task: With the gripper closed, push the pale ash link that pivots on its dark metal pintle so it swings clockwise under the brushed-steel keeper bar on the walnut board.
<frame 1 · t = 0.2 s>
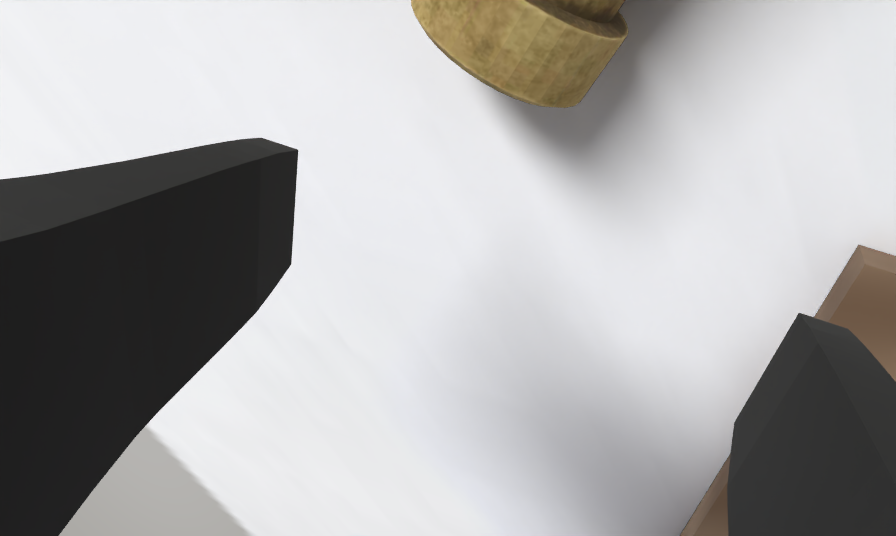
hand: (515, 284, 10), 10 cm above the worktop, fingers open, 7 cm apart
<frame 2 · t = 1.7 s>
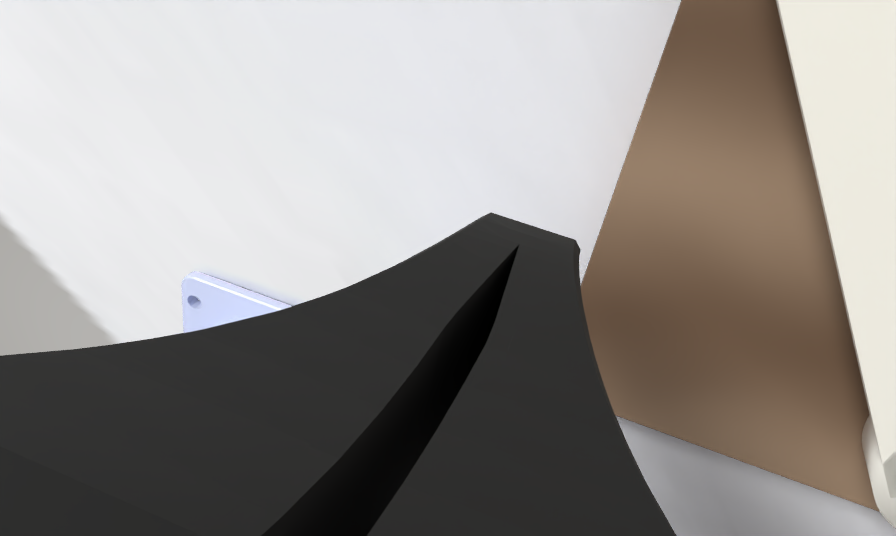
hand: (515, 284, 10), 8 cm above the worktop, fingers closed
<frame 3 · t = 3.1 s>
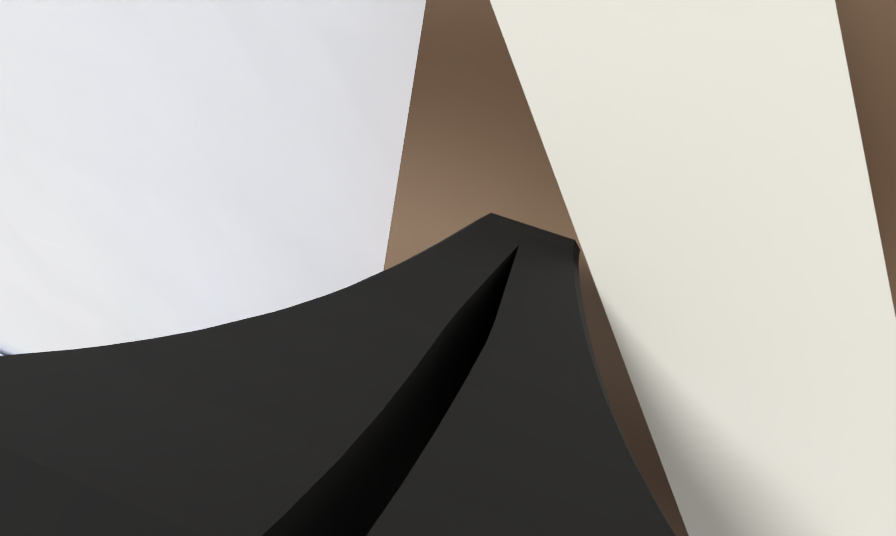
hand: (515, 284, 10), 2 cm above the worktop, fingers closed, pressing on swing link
swing link: (771, 415, 9), point 3 cm above the worktop, hinge at 35.0°, touching gripper
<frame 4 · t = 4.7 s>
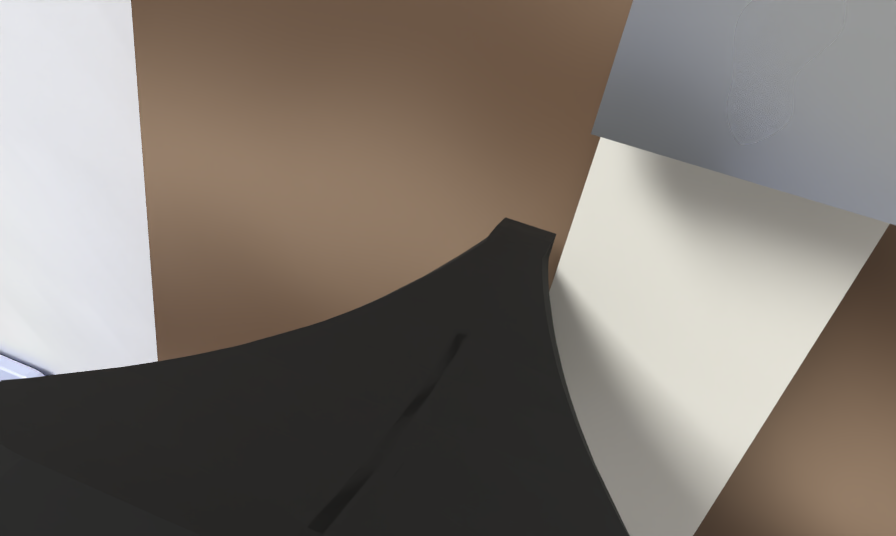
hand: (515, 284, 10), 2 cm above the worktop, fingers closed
swing link: (672, 316, 9), point 3 cm above the worktop, hinge at -0.2°, touching gripper
pivot board: (577, 113, 10), on the worktop
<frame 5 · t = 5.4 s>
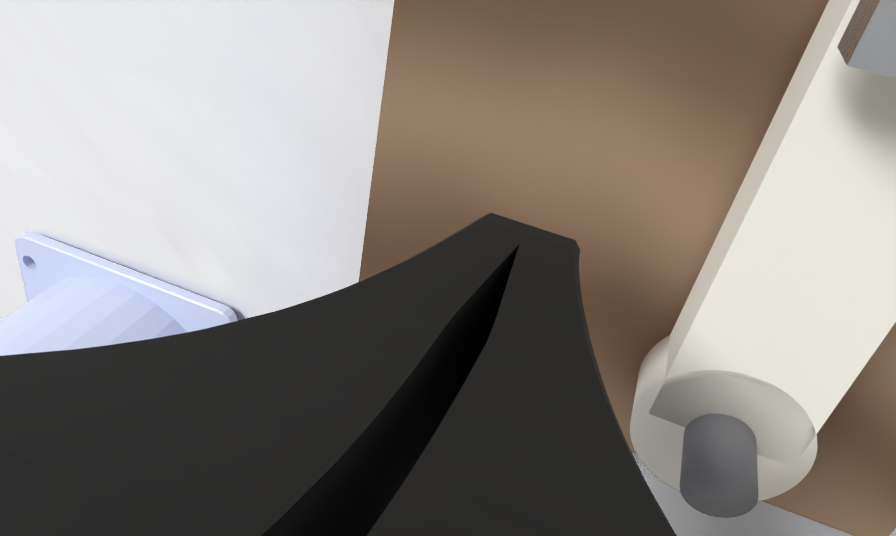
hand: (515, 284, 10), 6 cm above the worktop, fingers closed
swing link: (847, 216, 12), point 3 cm above the worktop, hinge at -0.3°
pivot board: (749, 71, 14), on the worktop
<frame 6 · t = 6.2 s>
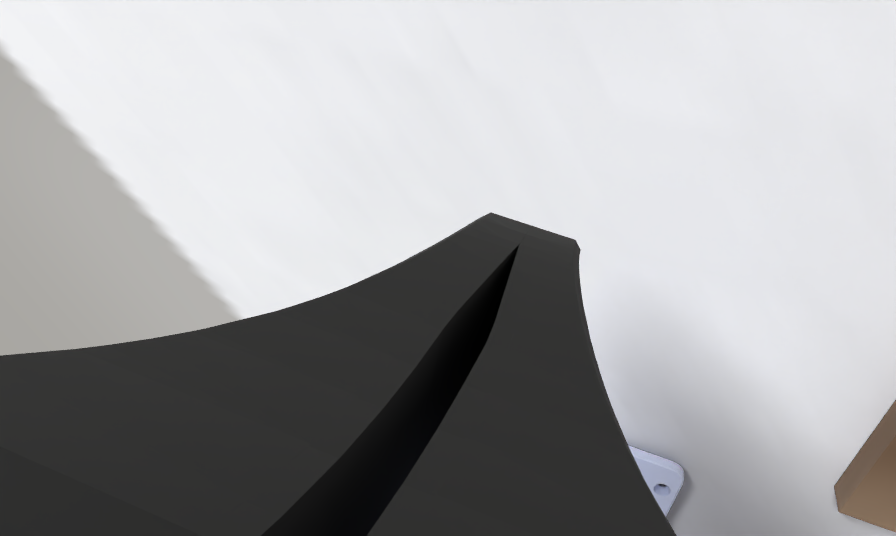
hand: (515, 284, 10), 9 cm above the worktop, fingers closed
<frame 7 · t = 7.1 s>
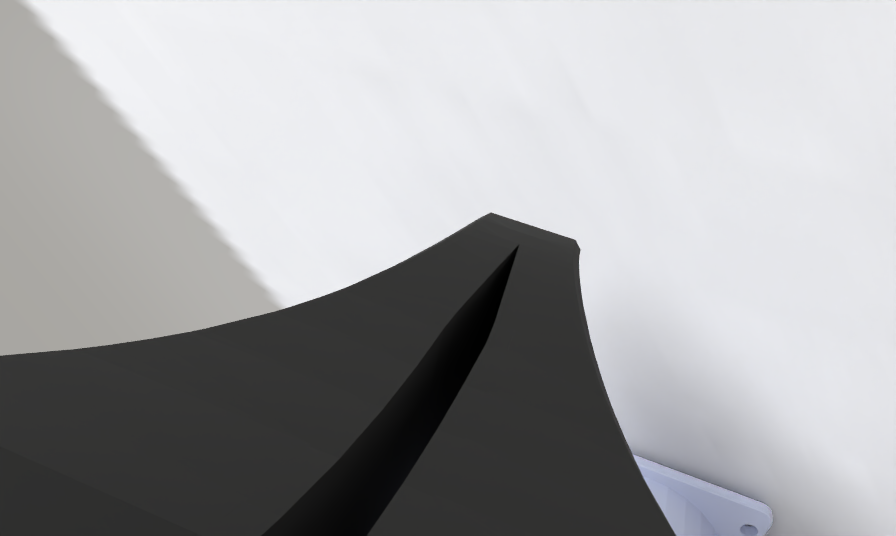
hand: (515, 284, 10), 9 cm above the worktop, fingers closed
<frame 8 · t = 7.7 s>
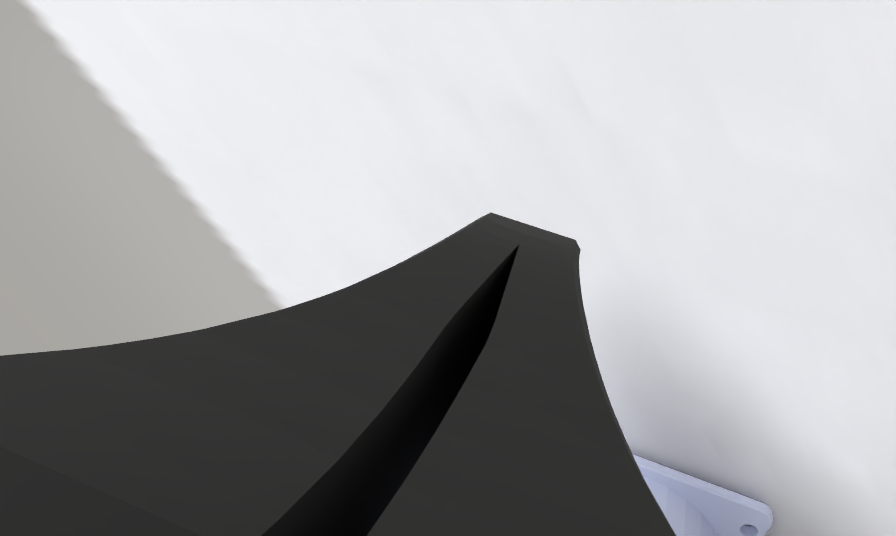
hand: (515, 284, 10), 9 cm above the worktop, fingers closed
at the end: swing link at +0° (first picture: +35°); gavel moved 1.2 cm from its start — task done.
